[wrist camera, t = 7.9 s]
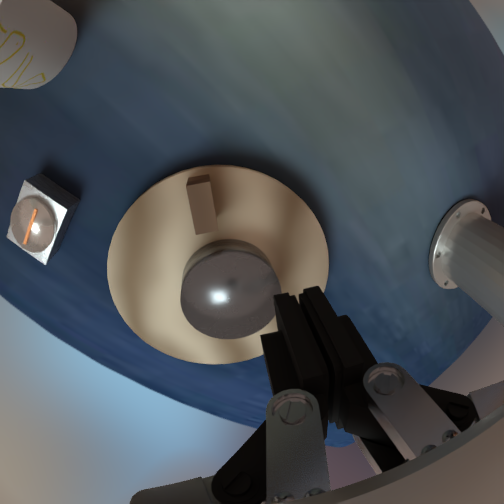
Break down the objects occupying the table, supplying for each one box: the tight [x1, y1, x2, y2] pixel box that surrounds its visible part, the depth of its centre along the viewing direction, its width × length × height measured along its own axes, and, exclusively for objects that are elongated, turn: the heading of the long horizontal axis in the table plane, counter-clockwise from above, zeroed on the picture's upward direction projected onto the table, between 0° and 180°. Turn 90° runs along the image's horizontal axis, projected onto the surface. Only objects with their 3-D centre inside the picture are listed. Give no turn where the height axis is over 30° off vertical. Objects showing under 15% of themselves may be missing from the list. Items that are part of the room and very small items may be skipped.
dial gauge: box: [7, 173, 80, 265], centre depth 21 cm, size 6×5×4 cm
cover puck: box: [180, 239, 282, 339], centre depth 24 cm, size 8×8×3 cm
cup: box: [0, 0, 77, 89], centre depth 10 cm, size 8×8×12 cm
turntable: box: [107, 165, 329, 364], centre depth 25 cm, size 20×20×4 cm
